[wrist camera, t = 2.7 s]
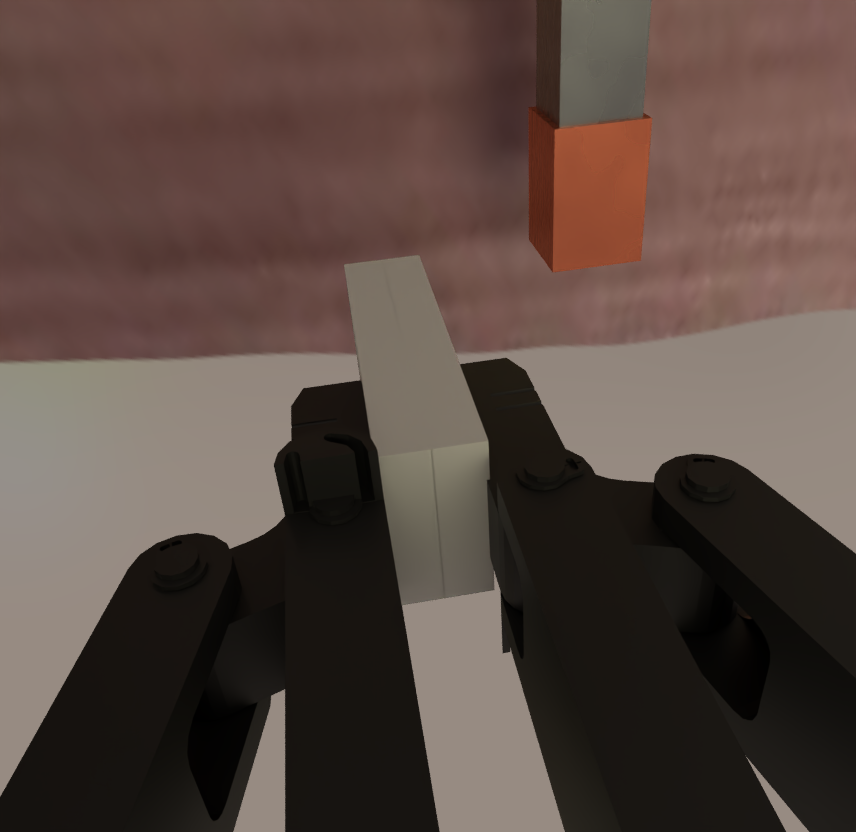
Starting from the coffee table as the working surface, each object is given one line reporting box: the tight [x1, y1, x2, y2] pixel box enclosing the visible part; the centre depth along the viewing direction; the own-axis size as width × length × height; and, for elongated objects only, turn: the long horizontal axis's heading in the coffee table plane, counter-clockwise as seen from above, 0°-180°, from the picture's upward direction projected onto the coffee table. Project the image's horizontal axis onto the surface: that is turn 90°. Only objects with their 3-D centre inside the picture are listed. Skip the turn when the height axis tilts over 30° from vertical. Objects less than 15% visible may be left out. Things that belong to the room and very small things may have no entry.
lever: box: [529, 0, 652, 272], centre depth 23 cm, size 13×4×3 cm, turn 4°
